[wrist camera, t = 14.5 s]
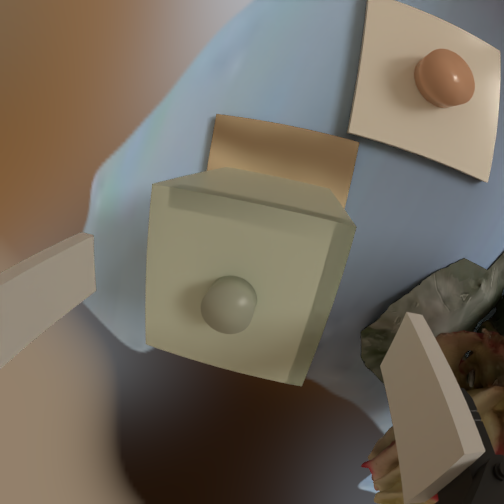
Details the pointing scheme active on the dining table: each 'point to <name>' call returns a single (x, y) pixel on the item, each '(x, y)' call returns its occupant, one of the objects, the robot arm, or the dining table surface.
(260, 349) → the sage cover
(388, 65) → the cream plate
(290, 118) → the dining table surface
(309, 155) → the tan mat
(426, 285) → the rose bouquet
